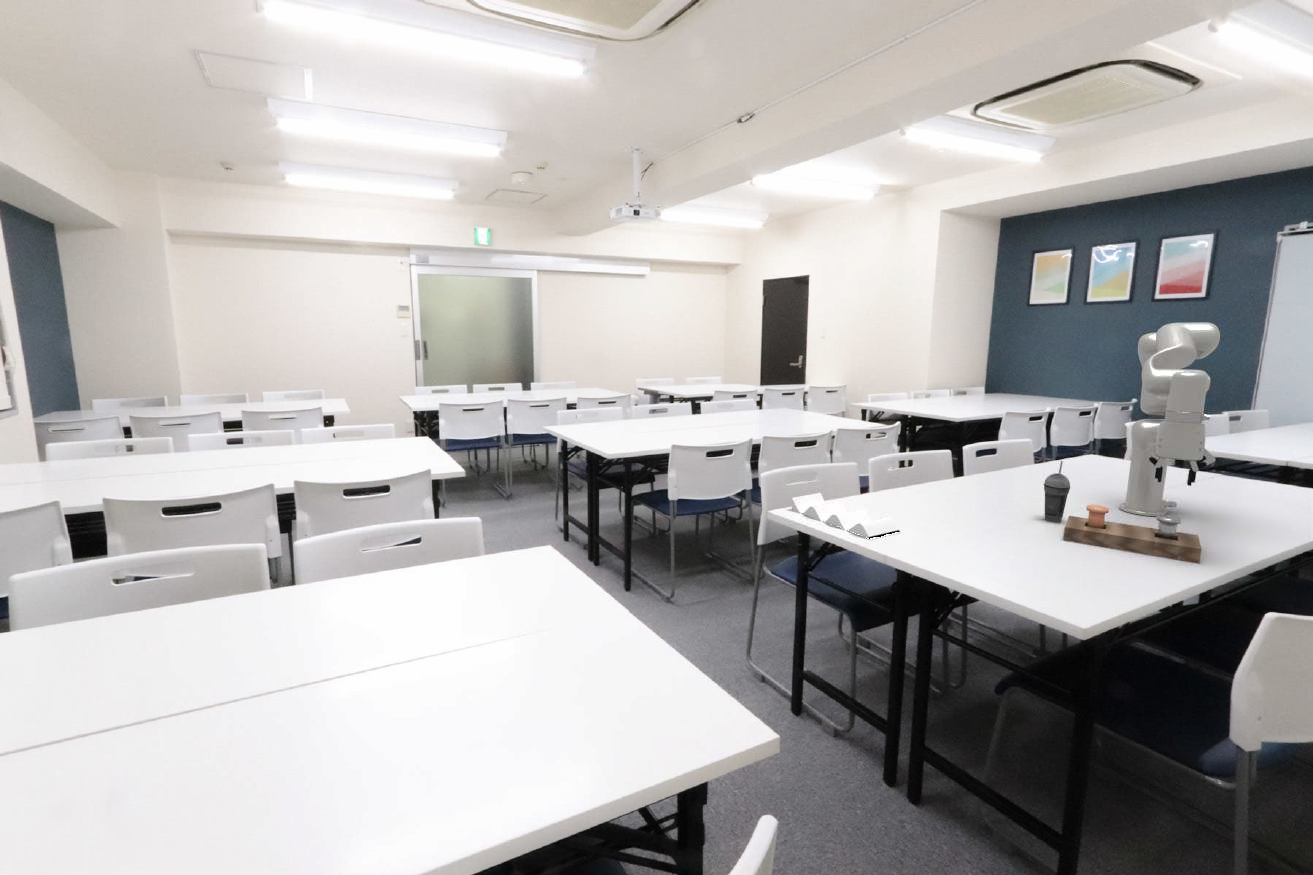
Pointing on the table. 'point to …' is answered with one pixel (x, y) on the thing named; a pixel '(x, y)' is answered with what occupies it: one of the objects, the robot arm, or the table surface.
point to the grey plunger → (1167, 526)
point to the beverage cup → (1056, 496)
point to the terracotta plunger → (1096, 516)
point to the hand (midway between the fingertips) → (1174, 482)
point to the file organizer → (843, 516)
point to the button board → (1133, 539)
